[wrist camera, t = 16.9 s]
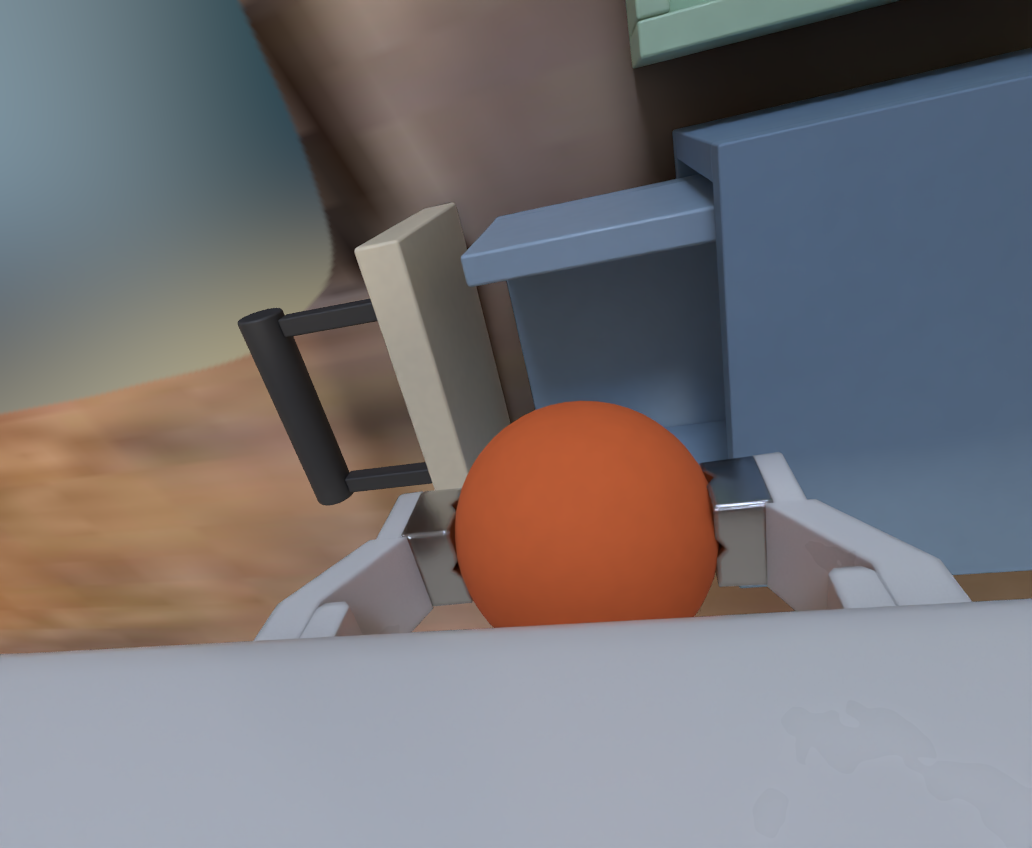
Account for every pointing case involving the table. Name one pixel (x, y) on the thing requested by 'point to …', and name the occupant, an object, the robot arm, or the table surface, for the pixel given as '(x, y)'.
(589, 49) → the table surface
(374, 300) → the drawer
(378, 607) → the robot arm
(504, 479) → the ball
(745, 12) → the tote
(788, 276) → the cabinet
